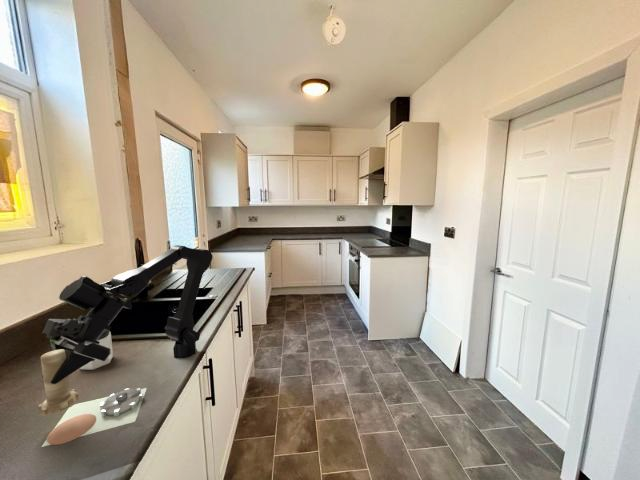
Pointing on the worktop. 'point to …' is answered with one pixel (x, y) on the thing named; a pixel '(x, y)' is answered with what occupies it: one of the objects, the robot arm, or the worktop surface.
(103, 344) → the jar
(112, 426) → the board
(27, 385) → the worktop surface
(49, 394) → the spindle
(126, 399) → the gear
